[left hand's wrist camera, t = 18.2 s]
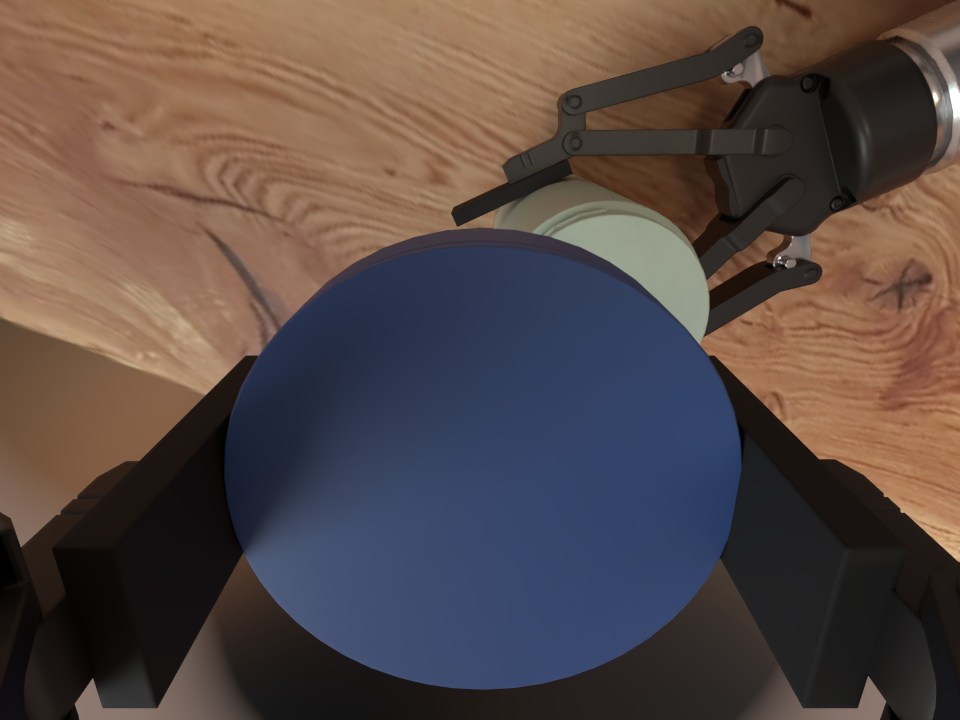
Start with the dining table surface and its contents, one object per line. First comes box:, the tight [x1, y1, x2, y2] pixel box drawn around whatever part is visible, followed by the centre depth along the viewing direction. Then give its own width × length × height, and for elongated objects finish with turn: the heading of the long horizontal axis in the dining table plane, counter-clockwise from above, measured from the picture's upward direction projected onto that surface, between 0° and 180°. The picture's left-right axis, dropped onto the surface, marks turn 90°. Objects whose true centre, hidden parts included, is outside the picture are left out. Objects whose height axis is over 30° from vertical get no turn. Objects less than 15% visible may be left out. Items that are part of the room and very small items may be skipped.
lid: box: [224, 228, 742, 689], centre depth 11 cm, size 9×9×2 cm
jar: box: [493, 174, 710, 345], centre depth 31 cm, size 8×8×18 cm
